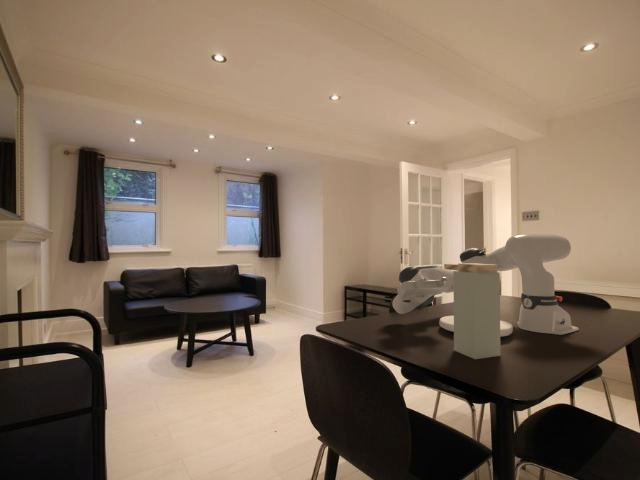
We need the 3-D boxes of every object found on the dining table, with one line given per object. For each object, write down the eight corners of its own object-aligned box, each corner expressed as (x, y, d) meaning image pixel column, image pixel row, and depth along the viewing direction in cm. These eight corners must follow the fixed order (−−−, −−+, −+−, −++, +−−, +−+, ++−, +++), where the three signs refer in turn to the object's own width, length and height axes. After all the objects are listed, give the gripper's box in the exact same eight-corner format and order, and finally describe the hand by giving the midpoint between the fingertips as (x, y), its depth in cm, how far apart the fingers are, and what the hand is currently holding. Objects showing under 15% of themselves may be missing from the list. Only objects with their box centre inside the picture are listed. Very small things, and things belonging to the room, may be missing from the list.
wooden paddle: (439, 269, 118) (439, 262, 118) (455, 268, 120) (455, 261, 120) (479, 273, 100) (479, 265, 100) (497, 272, 102) (497, 264, 102)
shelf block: (478, 347, 111) (477, 270, 112) (500, 355, 103) (499, 272, 103) (454, 350, 108) (453, 271, 109) (475, 359, 100) (474, 273, 100)
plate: (434, 312, 148) (499, 314, 142) (434, 327, 147) (499, 330, 142) (445, 319, 120) (525, 322, 115) (445, 337, 120) (526, 342, 114)
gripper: (440, 299, 137) (460, 285, 126) (397, 301, 131) (415, 288, 120) (435, 285, 140) (454, 271, 129) (393, 287, 134) (410, 272, 123)
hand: (435, 279), depth 124 cm, fingers open, 8 cm apart
